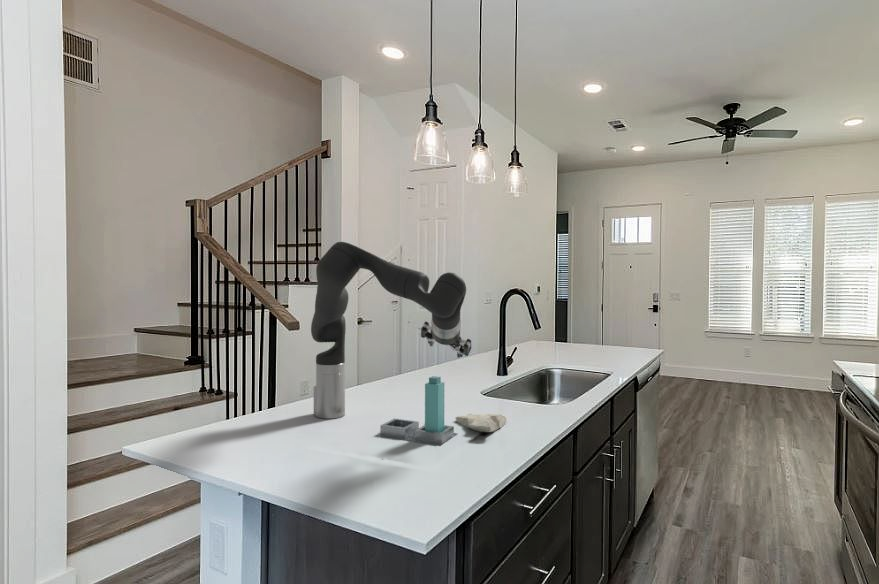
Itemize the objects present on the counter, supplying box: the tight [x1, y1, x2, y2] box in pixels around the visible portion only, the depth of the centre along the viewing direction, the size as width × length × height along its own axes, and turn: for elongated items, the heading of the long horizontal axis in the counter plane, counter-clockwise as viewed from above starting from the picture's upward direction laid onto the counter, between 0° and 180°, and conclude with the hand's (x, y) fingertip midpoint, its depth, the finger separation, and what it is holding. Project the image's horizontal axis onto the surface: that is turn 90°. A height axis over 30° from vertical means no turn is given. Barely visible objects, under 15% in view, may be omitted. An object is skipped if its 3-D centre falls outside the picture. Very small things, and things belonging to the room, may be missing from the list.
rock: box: [455, 413, 507, 433], centre depth 157 cm, size 21×5×15 cm
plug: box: [424, 375, 445, 433], centre depth 144 cm, size 4×4×17 cm
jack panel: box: [375, 418, 459, 447], centre depth 146 cm, size 20×12×4 cm, turn 65°
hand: (445, 348), depth 148 cm, fingers open, 8 cm apart
